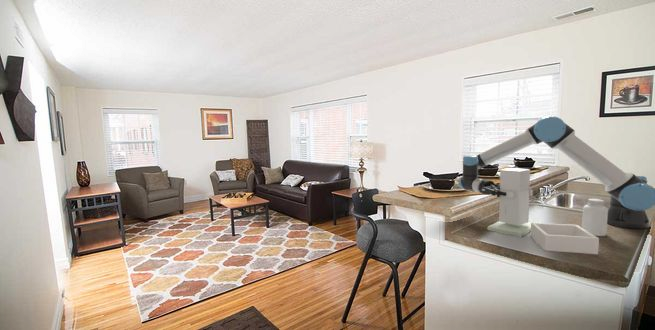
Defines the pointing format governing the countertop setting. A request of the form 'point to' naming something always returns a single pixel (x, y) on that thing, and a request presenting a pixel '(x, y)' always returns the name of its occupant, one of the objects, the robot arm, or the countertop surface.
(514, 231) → the cutting board
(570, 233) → the tray
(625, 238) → the countertop surface
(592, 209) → the pill bottle
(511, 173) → the tall white carton
